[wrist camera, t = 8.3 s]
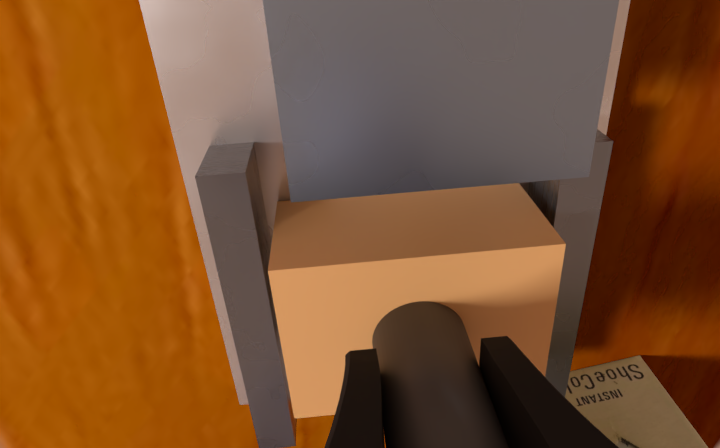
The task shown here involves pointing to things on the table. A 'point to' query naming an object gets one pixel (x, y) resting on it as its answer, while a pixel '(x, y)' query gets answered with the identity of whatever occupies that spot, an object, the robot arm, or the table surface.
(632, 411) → the shoe polish box
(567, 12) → the housing
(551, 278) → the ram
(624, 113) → the table surface
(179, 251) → the table surface
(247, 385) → the frame
